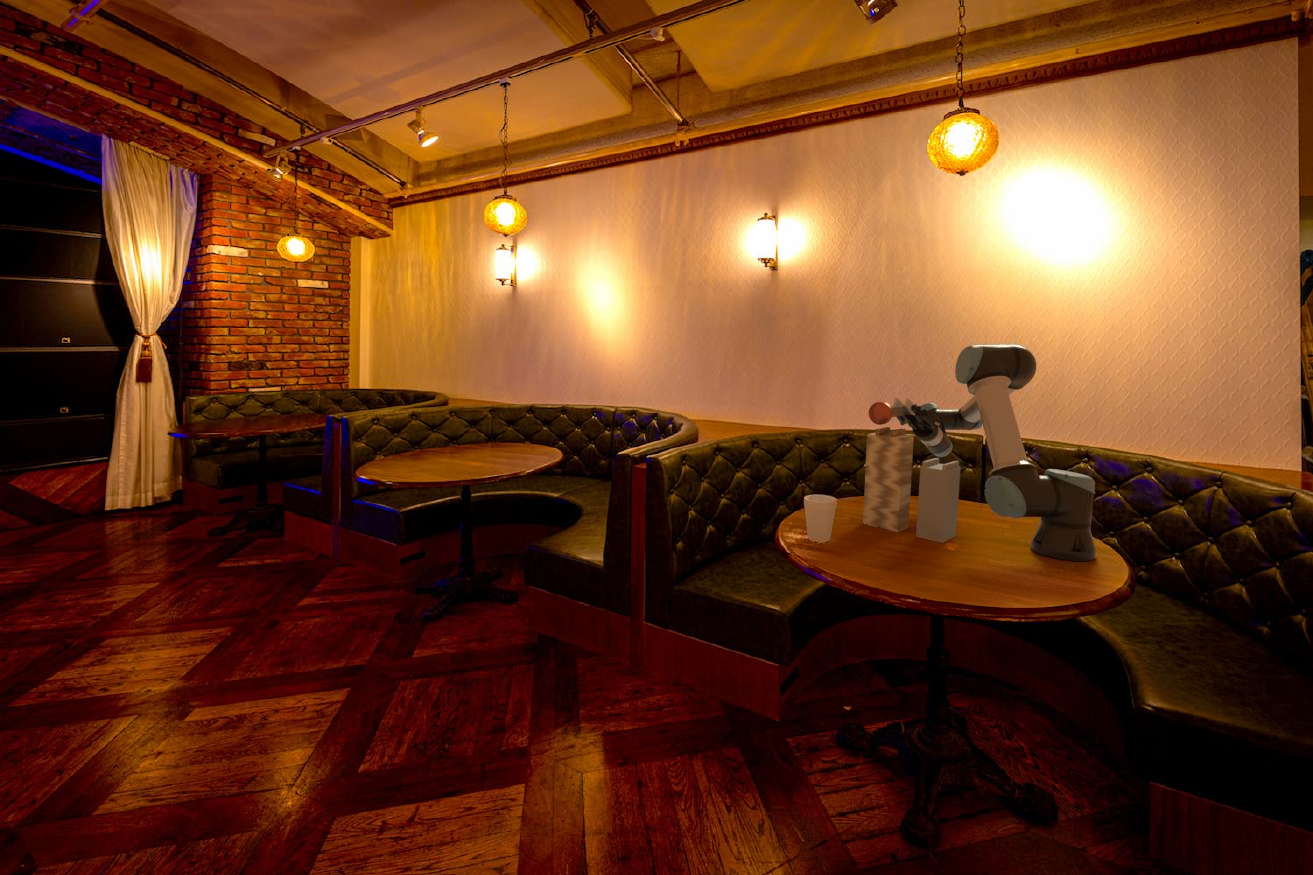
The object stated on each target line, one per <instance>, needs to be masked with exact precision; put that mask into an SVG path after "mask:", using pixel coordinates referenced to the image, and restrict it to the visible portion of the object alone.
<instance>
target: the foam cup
mask: <svg viewBox="0 0 1313 875" xmlns="http://www.w3.org/2000/svg"><path fill="white" fill-rule="evenodd" d="M837 501H838V499H837V498H836V497H834V496H831V495H825V494H810V495H809V494H808V495H805V496H804V497H803V506H804V513H805V514H804V515H805V521H806V522H805V523H806V531H807V532H806V533H807V540H808V539H809V540H811V541H816V542H826V541H829V540H830V541H831V536H832V530H833V525H834V520H835V514H836V509H837V506H838V505H837V504H838V502H837ZM809 540H808V541H809ZM830 541H829V542H830Z"/></svg>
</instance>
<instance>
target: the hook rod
mask: <svg viewBox="0 0 1313 875" xmlns="http://www.w3.org/2000/svg"><path fill="white" fill-rule="evenodd" d="M904 404H905V403H903V404H902V405H895V406H893V405H890V404H889V403H888V402H884V401H879V402H874V403H872V404H871V406H870V407H869V409H868V418H869V419H870V421H871V422H872V423H873V424H875V425H879V426H880V425H886V424H887V423H889V422H890V421H891V420H892V418H897V416H903V415H909V414H911V413H910V412H909V411H908V410H907V409H906V408H905V406H904ZM913 404H914V405H916V406H918V404H917V403H913ZM914 415H915V413H914Z"/></svg>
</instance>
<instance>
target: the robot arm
mask: <svg viewBox="0 0 1313 875" xmlns="http://www.w3.org/2000/svg"><path fill="white" fill-rule="evenodd" d="M954 368H955V369H954V370H955V371H954V373H955V374H954V375H955V379H956V381H957V383H959V384H962V385H965V384H966V387H967V388H966V389H967V391H968V393H969V394H971V395H972V397H971V398H970V399H968V401H966V403H964V404H963V405H962V406H961V407H960V408H959V409H939V407H938V405H937V404H935V403H934V402H927V403H923V404H921V405H917V406H916V405H914V404H915V403H913V401H912V400H911V399H910V398H907V397H906V399H905V402H904V403H903V402H902V401H901V400H900V399H899V398H898V397H894V401H893V404H892V406H895V405H902V404H904V406H905V408H906V409H907V410H908V411H909V412H910V413H911V414H909V415H903V416H897V417H896V419H897V420H898V421H899V424H900V425H901V426H904V425H908V426H909V427H910V428H911V429H912V434H914V436H915V437H916V438H918V440H919V441H920V442H921V443H922V444H923V445H924V446H925V447H926V448H927V450H928V451H929V452H930V453H931V454H932V455H934V456H935V457H937V458H942V457H946V456H948V455H949V454H950V453H951V452H952V451H953V447H954V446H953V443H952V441H951V439H950V438H949V437H948V434H947V432H946V431H951V430H953V431H958V430H959V431H961V430H962V431H972V430H979V429H981V428H983V431H984V435H985V439H986V442H987V443H986V444H987V447H988V450H989V454H990V458H991V462H992V466H993V468H992V469H991V471H990V472H989V477H988V478H987V479H986V481H985V484H984V488H985V489H984V497H985V500H986V503H987V505H988V507H989V509H990V510H992V512H994V514H996V515H997V516H999V517H1003V518H1012V519H1021V518H1022V519H1023V518H1040V523H1039V525H1038V527H1037V529H1036V530H1035V533H1034V535H1033V536H1032V539H1031V543H1030V549H1031V548H1032V549H1033V550H1032V549H1031V550H1032V551H1033V552H1035V553H1037V554H1040V555H1043V556H1045V555H1046V556H1045V557H1048V556H1049V558H1052V557H1054V558H1053V559H1057V558H1058V560H1062V559H1063V561H1069V560H1071V562H1072V561H1073V560H1074V561H1073V562H1087V561H1088V560H1089V561H1092V559H1093V560H1094V558H1095V559H1096V555H1097V554H1096V553H1097V548H1096V545H1095V542H1094V537H1093V534H1092V531H1091V528H1092V527H1091V526H1092V518H1093V517H1092V516H1093V508H1094V506H1093V505H1094V501H1095V494H1096V491H1095V490H1096V488H1095V487H1096V486H1095V485H1096V482H1095V480H1094V478H1093V477H1091V476H1089V475H1085V474H1083V473H1078V472H1073V471H1068V470H1061V469H1056V468H1054V469H1053V468H1048V469H1045V472H1044V475H1041V474H1040V475H1039V474H1038V473H1039V472H1038V469H1037V466H1036V465H1035V464H1033V463H1031V462H1029V461H1028V457H1027V454H1026V450H1025V447H1024V444H1023V440H1022V436H1021V433H1020V429H1019V425H1018V422H1017V418H1016V415H1015V411H1014V408H1013V404H1012V401H1011V398H1010V395H1011V394H1012V393H1013V392H1014V391H1018V390H1021V389H1023V388H1024V387H1026V386H1027V385H1028V384H1029V383H1030V382H1031V381H1032V380H1033V378H1034V377H1035V375H1036V371H1037V361H1036V358H1035V355H1033V353H1032V352H1031V351H1030V350H1029V349H1028V348H1026V347H1025V346H1021V345H1018V344H1017V345H1016V344H1008V345H1007V344H998V345H996V344H994V345H993V344H992V345H991V344H990V345H989V344H987V345H985V344H984V345H982V344H978V345H975V344H974V345H967V346H966V347H964V348H963V349H962V350H961V352H960V353H959V354H958V356H957V359H956V363H955V367H954ZM914 413H915V414H914Z"/></svg>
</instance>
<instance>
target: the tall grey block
mask: <svg viewBox="0 0 1313 875" xmlns="http://www.w3.org/2000/svg"><path fill="white" fill-rule="evenodd" d="M921 463H922V465H921V466H920V467H919V468H920V470H919V487H918V502H917V517H916V518H917V520H916V531H915V532H916V534H915V535H916V536H915V537H916V538H921V539H924V540H929V541H933V542H937V543H940V544H944V543H946V542H948V541H950V540H953V539H955V538H956V537H957V535H956V534H957V524H958V523H957V522H958V506H959V496H960V494H959V493H960V482H961V469H962V466H960V460H953V461H951V462H946V463H940V457H934V458H931V459H927V460H924V461H922V462H921Z"/></svg>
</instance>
